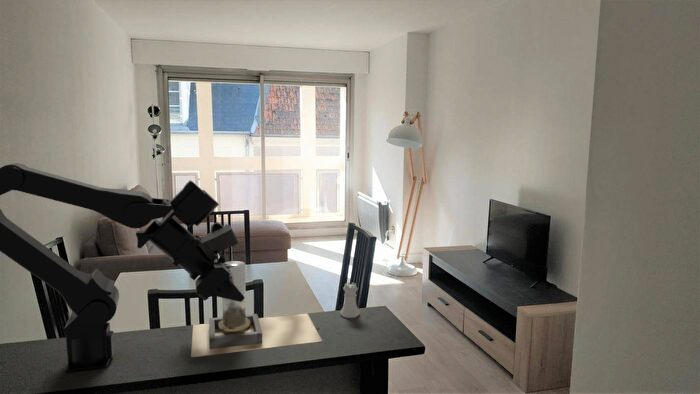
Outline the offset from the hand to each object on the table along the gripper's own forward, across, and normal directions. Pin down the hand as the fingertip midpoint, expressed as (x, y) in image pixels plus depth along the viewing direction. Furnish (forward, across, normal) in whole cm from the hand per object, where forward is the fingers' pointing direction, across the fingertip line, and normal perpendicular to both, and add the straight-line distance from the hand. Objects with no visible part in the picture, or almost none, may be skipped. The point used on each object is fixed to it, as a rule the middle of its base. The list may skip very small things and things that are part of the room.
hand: (241, 295), depth 89 cm
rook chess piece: (+23, +2, -10) cm, 26 cm away
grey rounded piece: (+4, 0, +6) cm, 7 cm away
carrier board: (+8, 0, +4) cm, 9 cm away
